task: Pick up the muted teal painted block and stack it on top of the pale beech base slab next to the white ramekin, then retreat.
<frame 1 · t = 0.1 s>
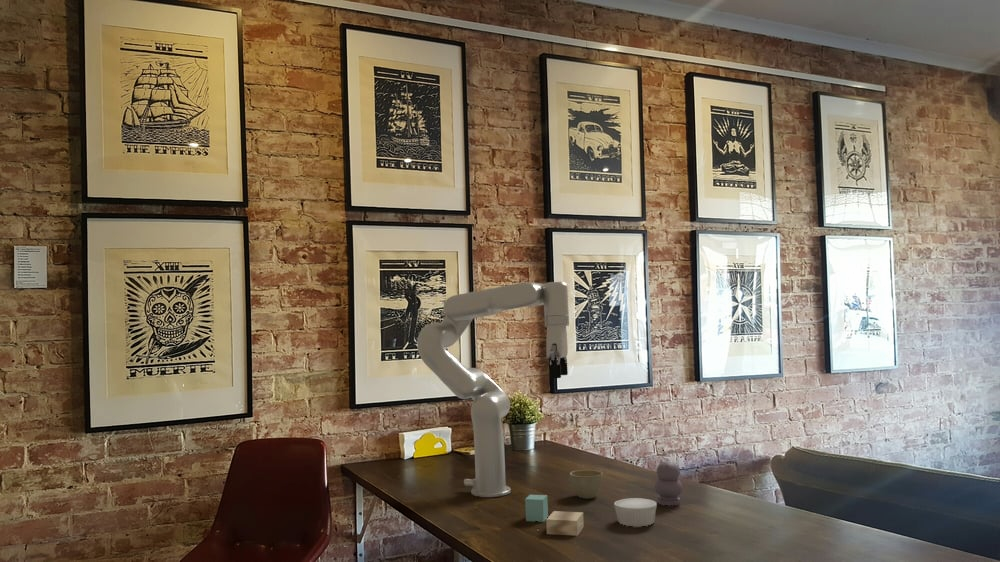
hand: (559, 376, 230), 37 cm above the table, tool pointing down, fingers open, 9 cm apart
block: (537, 519, 204), on the table
ramekin: (636, 523, 197), on the table
base: (565, 531, 193), on the table
cat figurine: (669, 503, 215), on the table
flower pot: (587, 497, 227), on the table
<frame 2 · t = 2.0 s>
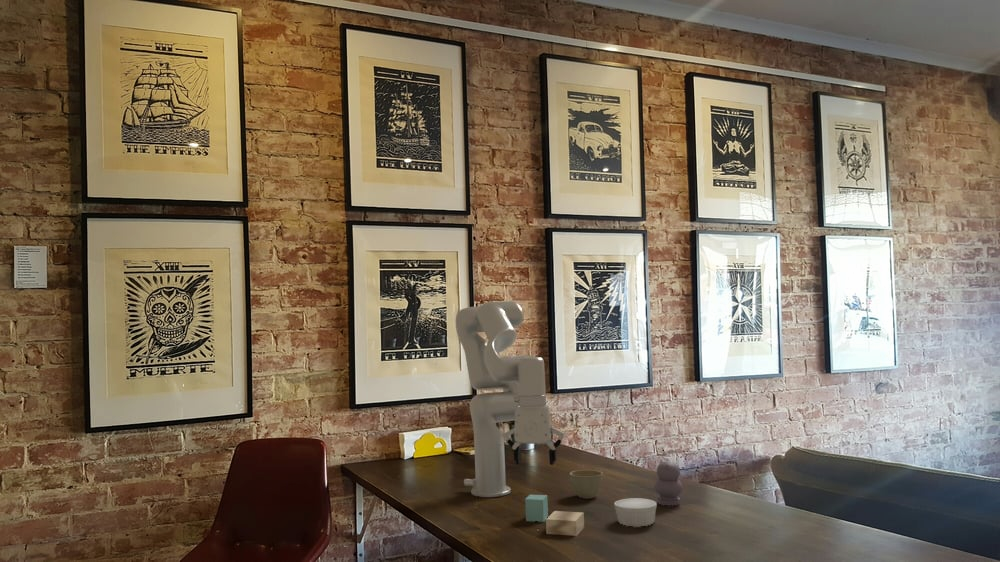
hand: (535, 463, 205), 15 cm above the table, tool pointing down, fingers open, 9 cm apart
nothing on the table moved.
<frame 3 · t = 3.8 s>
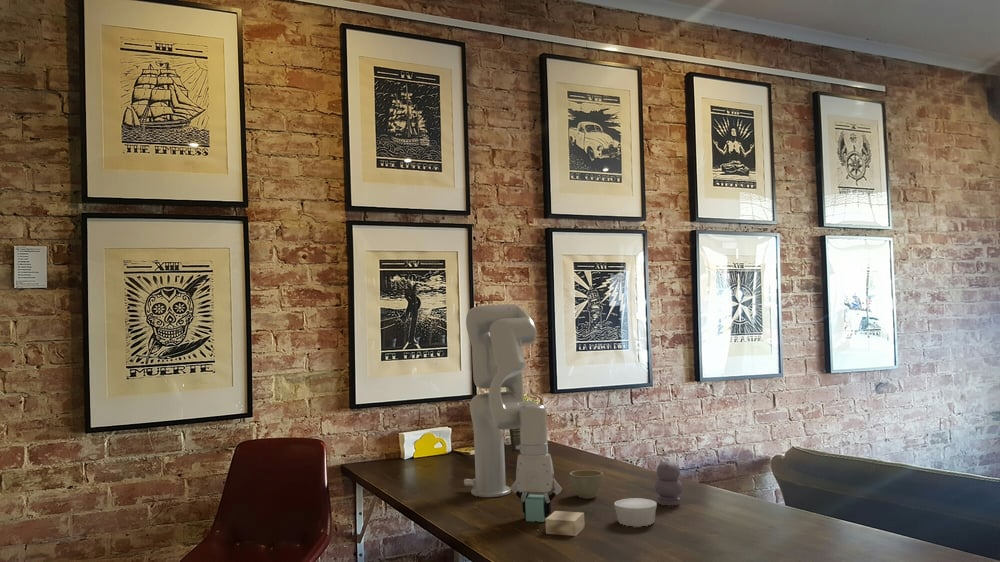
hand: (537, 515, 204), 1 cm above the table, tool pointing down, fingers closed on block, 5 cm apart
block: (537, 518, 204), on the table, touching gripper
everything else where it was.
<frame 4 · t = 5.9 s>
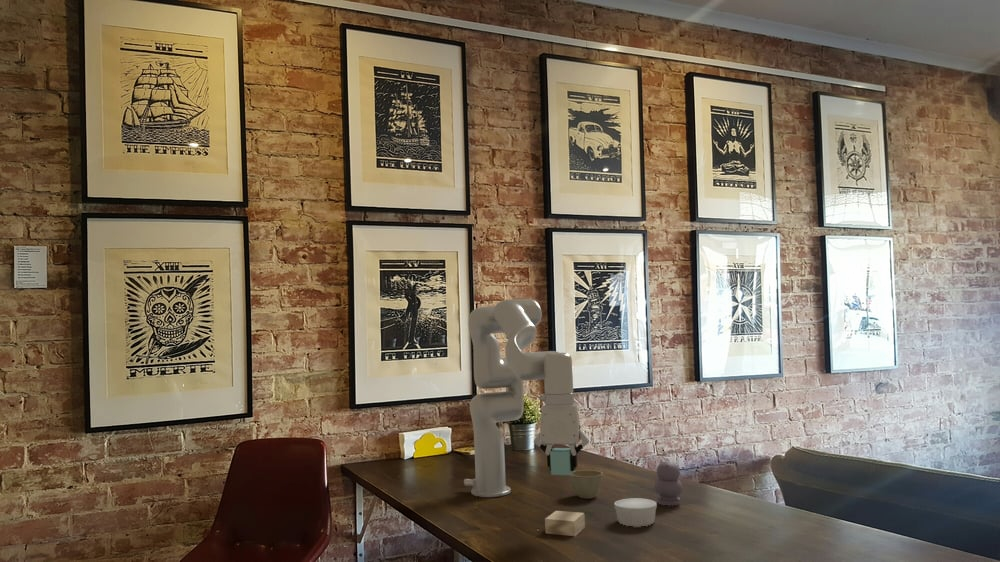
hand: (562, 469, 194), 16 cm above the table, tool pointing down, fingers closed on block, 5 cm apart
block: (562, 472, 194), point 15 cm above the table, touching gripper
everything else where it was.
when the fingers open (6 cm above the table, at t = 8.0 s): block drops 1 cm, point 4 cm above the table.
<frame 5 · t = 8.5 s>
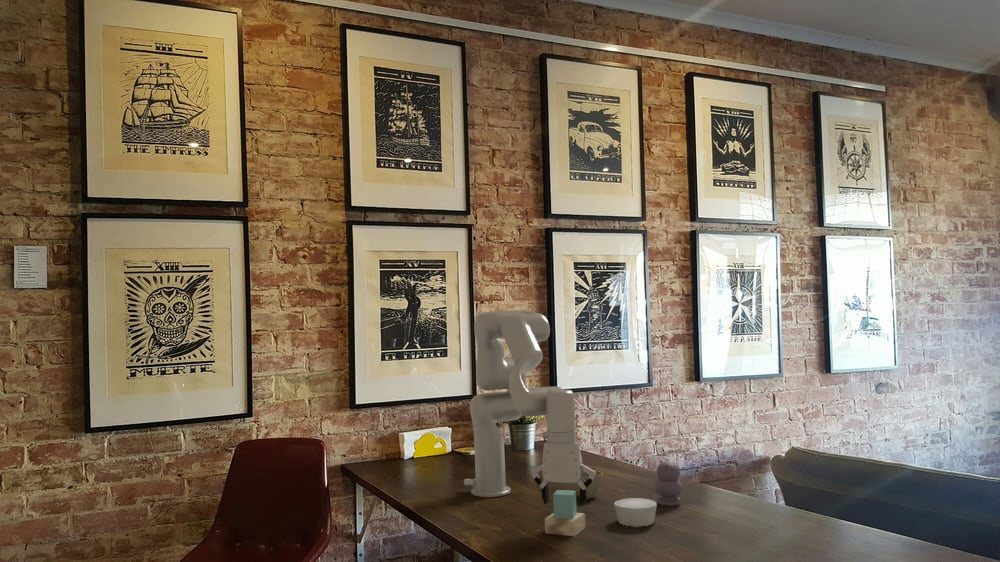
hand: (564, 503, 193), 7 cm above the table, tool pointing down, fingers open, 9 cm apart
block: (565, 515, 193), point 4 cm above the table
everything else where it was.
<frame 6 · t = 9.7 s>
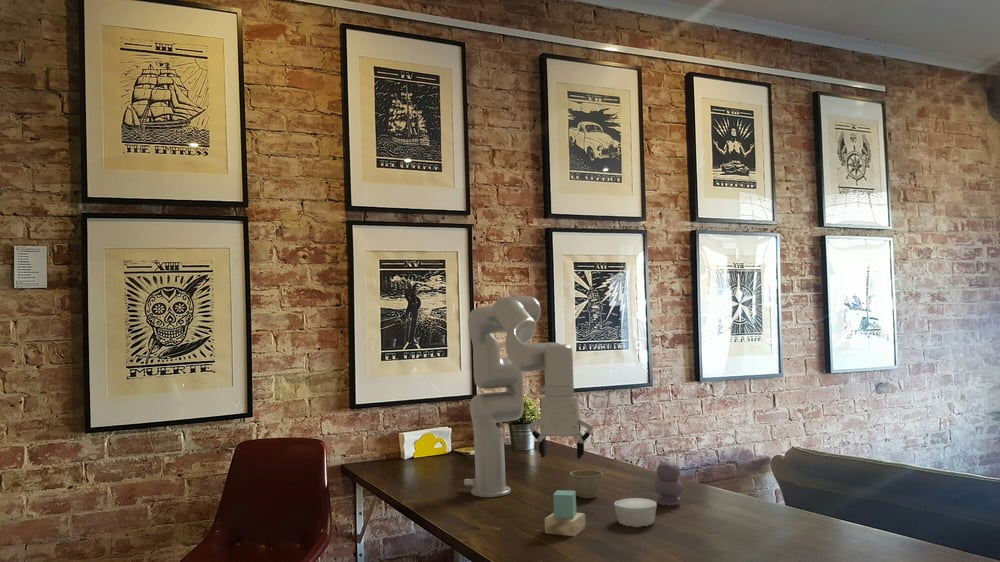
hand: (561, 457, 194), 19 cm above the table, tool pointing down, fingers open, 9 cm apart
block: (565, 516, 193), point 4 cm above the table, touching base
base: (565, 531, 193), on the table, touching block
everything else where it was.
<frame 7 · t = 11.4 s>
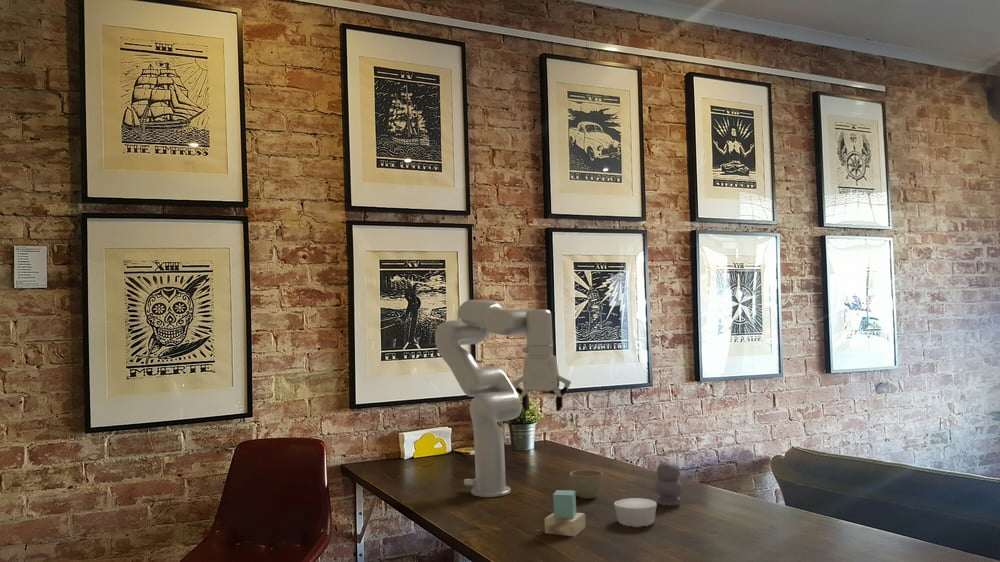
hand: (542, 410, 216), 28 cm above the table, tool pointing down, fingers open, 9 cm apart
block: (565, 515, 193), point 4 cm above the table
base: (565, 531, 193), on the table
everything else where it was.
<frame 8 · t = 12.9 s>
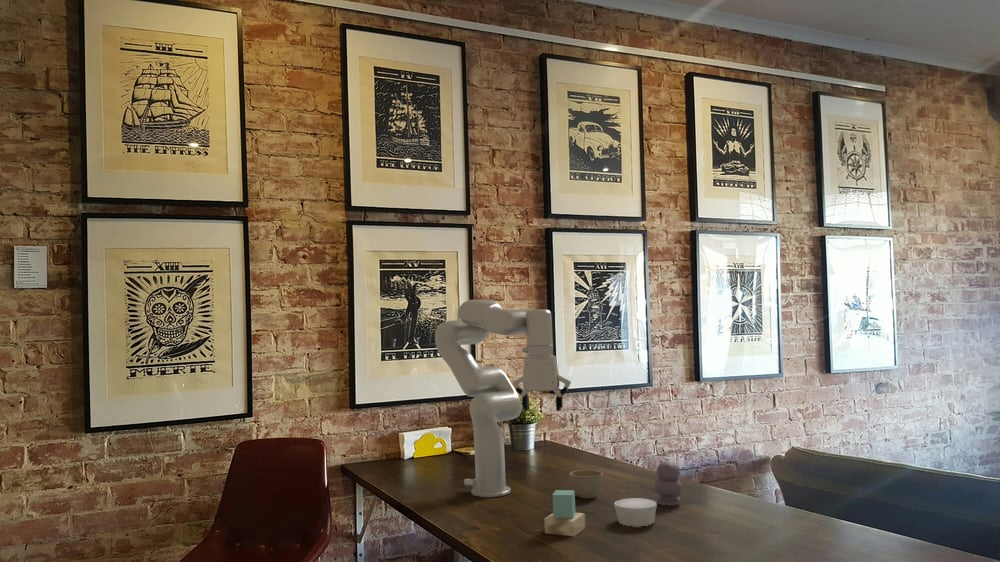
hand: (542, 410, 216), 28 cm above the table, tool pointing down, fingers open, 9 cm apart
nothing on the table moved.
at the end: block 0.0 cm off-centre on the base, point 4.0 cm above the base's base; block tilted 0°; the gripper is holding nothing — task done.
